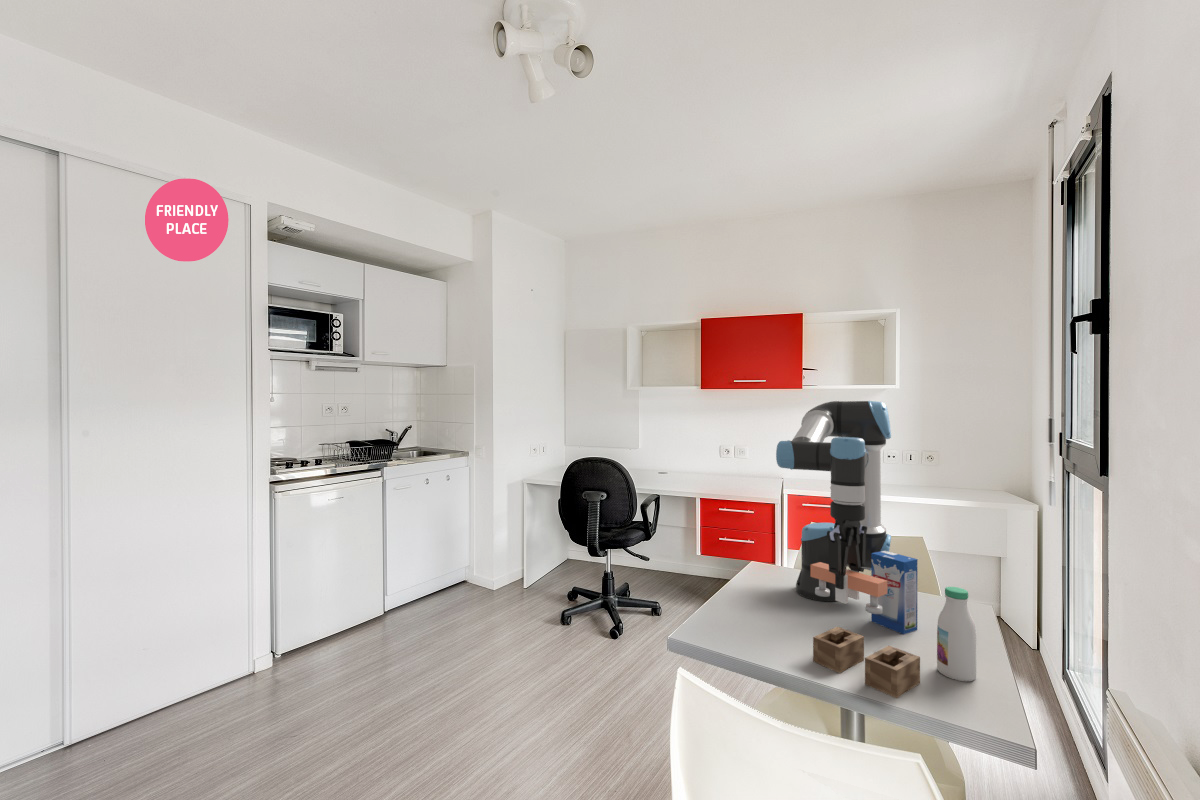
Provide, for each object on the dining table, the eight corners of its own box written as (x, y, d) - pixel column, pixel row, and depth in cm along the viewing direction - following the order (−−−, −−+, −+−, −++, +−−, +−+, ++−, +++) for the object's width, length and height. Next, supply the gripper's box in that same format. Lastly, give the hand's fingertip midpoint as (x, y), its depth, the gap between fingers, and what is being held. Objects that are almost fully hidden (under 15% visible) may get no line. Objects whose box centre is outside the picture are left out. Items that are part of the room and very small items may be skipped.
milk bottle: (978, 673, 126) (978, 588, 126) (973, 686, 120) (973, 597, 120) (940, 662, 131) (940, 581, 131) (934, 674, 125) (934, 589, 125)
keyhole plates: (837, 649, 138) (837, 626, 138) (919, 683, 121) (920, 656, 121) (813, 661, 131) (813, 637, 131) (896, 698, 115) (896, 670, 115)
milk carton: (871, 621, 156) (871, 553, 156) (884, 617, 159) (884, 550, 159) (904, 634, 147) (904, 562, 147) (917, 630, 150) (917, 559, 150)
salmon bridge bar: (810, 593, 133) (810, 564, 133) (819, 590, 135) (820, 562, 135) (878, 616, 119) (878, 583, 119) (887, 612, 121) (887, 580, 121)
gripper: (852, 496, 135) (852, 588, 135) (812, 503, 126) (811, 602, 125) (882, 500, 129) (881, 597, 129) (841, 508, 119) (841, 612, 119)
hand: (847, 599), depth 127 cm, fingers closed on salmon bridge bar, 4 cm apart
